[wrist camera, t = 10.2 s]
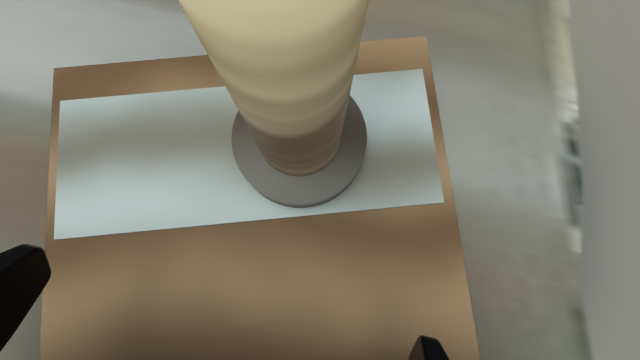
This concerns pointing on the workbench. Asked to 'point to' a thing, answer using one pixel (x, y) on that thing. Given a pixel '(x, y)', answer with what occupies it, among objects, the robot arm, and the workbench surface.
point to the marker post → (289, 91)
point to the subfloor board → (245, 225)
